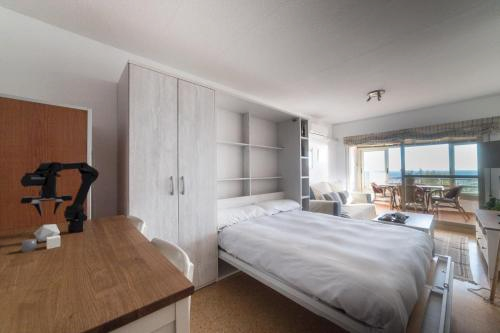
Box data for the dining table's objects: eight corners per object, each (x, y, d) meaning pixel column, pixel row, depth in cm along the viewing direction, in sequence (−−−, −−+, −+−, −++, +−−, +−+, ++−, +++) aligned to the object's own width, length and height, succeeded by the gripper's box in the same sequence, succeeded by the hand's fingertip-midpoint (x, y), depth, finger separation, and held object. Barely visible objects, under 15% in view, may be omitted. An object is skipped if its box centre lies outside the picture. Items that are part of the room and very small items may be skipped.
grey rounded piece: (37, 247, 94) (37, 238, 94) (34, 250, 91) (35, 240, 91) (23, 250, 91) (23, 240, 92) (20, 253, 88) (20, 242, 88)
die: (35, 241, 105) (26, 229, 100) (55, 229, 112) (48, 217, 107) (46, 248, 103) (37, 236, 97) (65, 236, 110) (58, 224, 104)
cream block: (59, 244, 99) (59, 235, 99) (60, 246, 96) (60, 237, 96) (46, 246, 96) (46, 237, 96) (47, 249, 93) (47, 239, 93)
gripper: (73, 184, 118) (72, 211, 117) (26, 185, 106) (25, 215, 106) (71, 185, 109) (71, 214, 108) (20, 186, 97) (19, 218, 97)
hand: (47, 215), depth 105 cm, fingers open, 5 cm apart
